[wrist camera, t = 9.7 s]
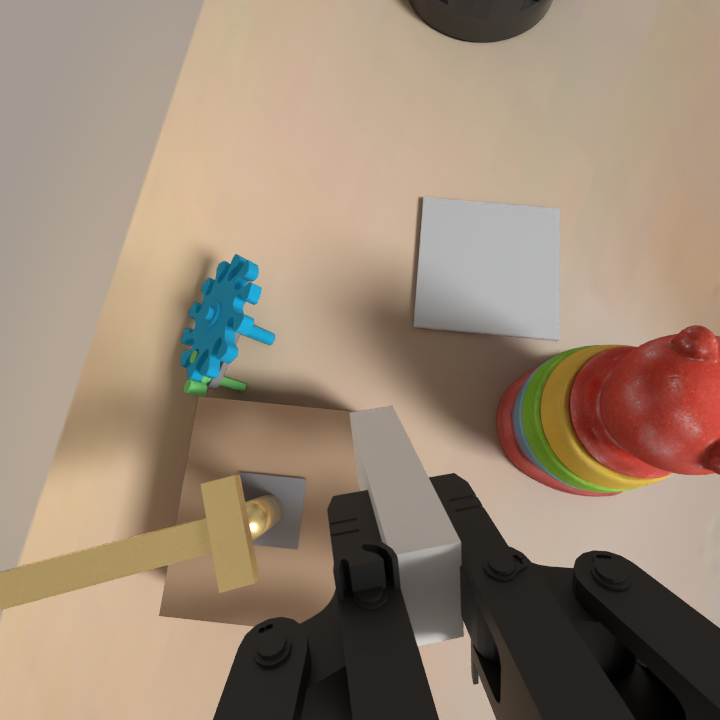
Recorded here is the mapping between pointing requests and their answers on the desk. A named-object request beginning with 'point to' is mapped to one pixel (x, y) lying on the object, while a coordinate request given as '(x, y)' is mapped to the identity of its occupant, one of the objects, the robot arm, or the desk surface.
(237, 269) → the gear
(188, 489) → the lock block
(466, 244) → the mat
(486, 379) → the desk surface
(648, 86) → the desk surface
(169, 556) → the gold piece
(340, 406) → the desk surface
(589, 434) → the stacking bear
